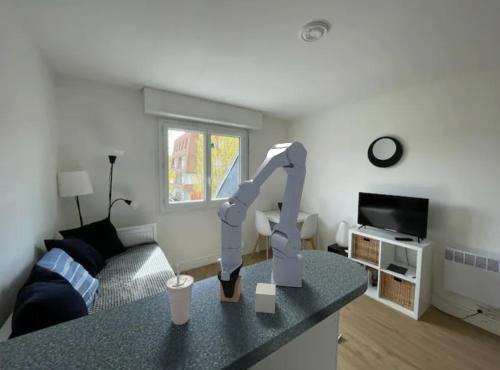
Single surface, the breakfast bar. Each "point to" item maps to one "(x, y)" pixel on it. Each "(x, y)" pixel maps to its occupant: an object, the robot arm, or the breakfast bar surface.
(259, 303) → the offwhite cube
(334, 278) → the breakfast bar surface
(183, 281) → the white cup with straw
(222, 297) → the terracotta cube
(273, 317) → the breakfast bar surface
